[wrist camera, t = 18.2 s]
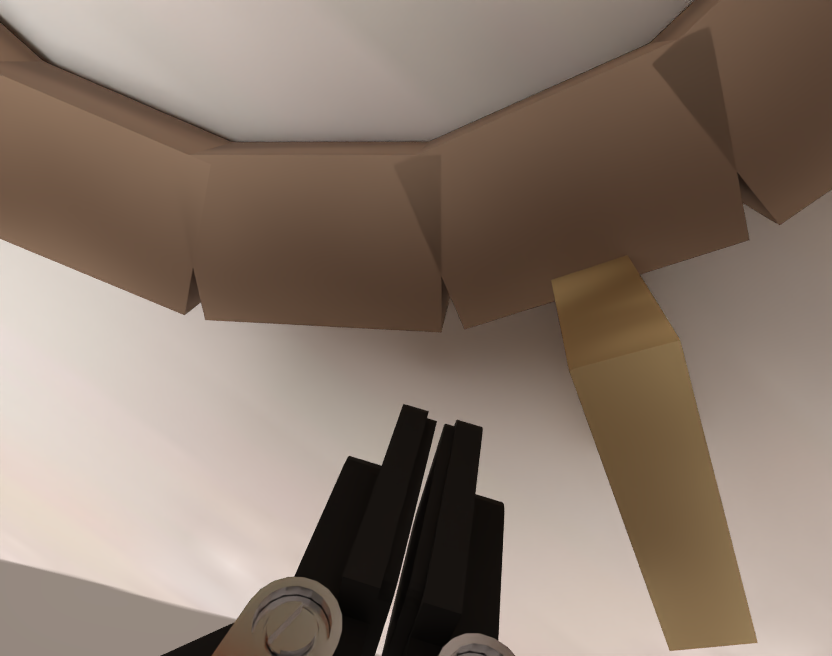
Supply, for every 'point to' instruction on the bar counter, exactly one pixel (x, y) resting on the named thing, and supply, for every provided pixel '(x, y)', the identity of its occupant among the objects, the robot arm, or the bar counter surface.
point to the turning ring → (472, 234)
